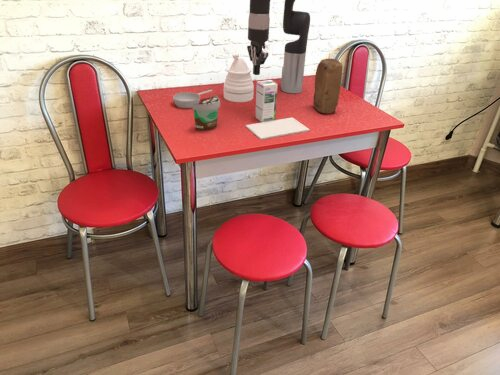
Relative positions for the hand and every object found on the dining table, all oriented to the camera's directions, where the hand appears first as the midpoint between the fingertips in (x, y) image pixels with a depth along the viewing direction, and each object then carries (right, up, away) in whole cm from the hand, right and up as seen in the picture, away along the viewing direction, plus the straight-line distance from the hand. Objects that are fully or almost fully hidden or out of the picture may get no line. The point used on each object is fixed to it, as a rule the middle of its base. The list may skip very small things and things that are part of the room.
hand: (256, 74), depth 159 cm
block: (+28, -11, +12) cm, 32 cm away
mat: (+8, -21, -6) cm, 24 cm away
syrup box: (+3, -17, +1) cm, 17 cm away
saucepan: (-25, -8, +13) cm, 30 cm away
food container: (-17, -21, -7) cm, 28 cm away
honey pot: (-7, -4, +21) cm, 23 cm away
